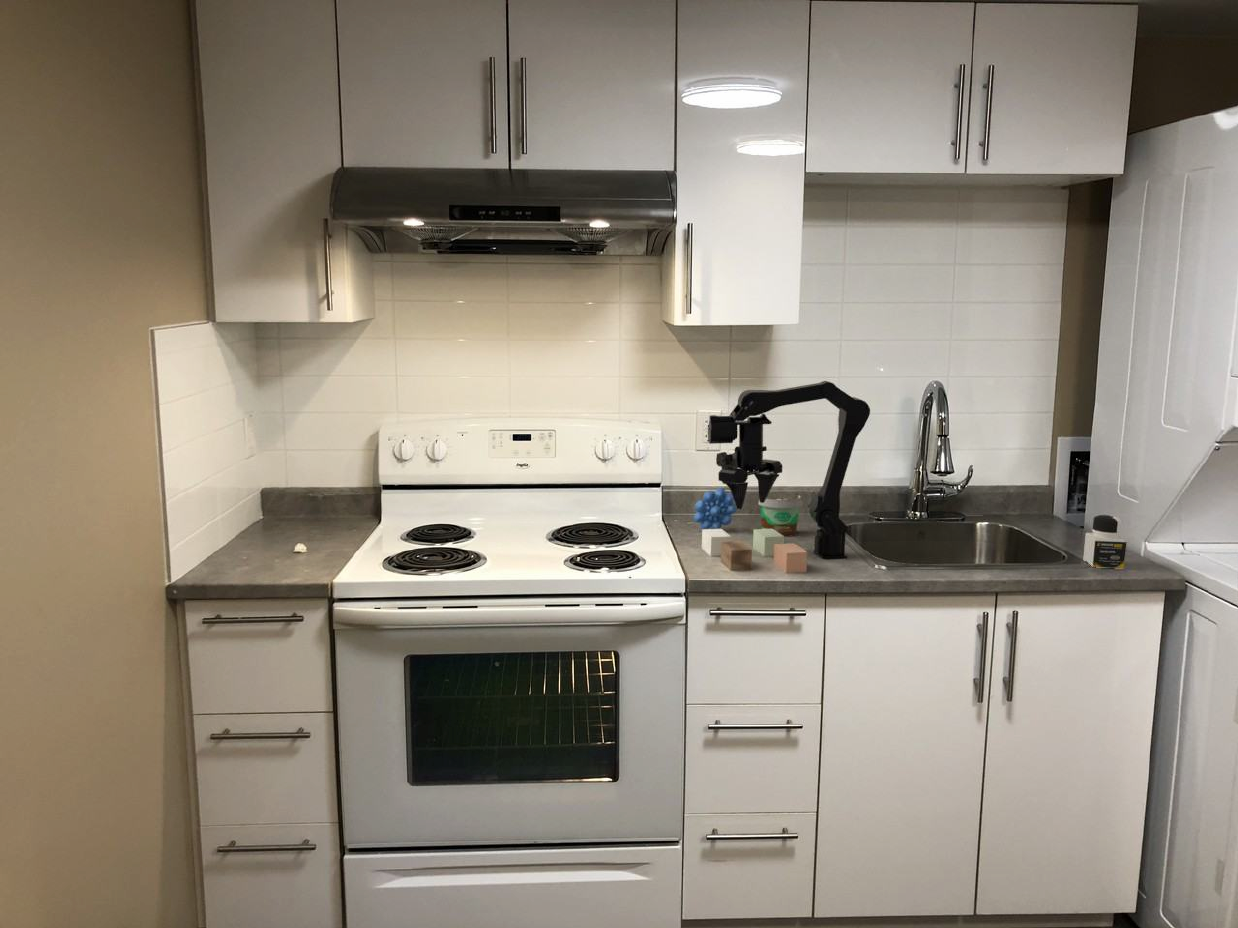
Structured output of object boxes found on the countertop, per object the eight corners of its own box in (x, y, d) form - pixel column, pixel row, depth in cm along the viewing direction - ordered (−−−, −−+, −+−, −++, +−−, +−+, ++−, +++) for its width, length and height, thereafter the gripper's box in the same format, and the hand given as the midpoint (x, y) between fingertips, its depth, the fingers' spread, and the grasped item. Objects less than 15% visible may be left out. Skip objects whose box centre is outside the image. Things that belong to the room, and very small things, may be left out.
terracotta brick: (793, 563, 236) (794, 543, 235) (806, 572, 228) (807, 551, 228) (773, 564, 235) (774, 544, 234) (786, 573, 227) (786, 552, 227)
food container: (766, 538, 259) (767, 501, 257) (757, 533, 265) (758, 496, 263) (809, 536, 262) (810, 499, 261) (798, 530, 268) (800, 494, 266)
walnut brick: (740, 561, 238) (741, 541, 237) (751, 570, 230) (752, 549, 229) (720, 562, 237) (721, 541, 236) (730, 571, 229) (731, 550, 228)
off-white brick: (720, 547, 250) (721, 528, 249) (730, 556, 242) (730, 536, 241) (701, 548, 249) (702, 529, 248) (710, 556, 241) (711, 537, 240)
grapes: (734, 528, 270) (735, 485, 268) (737, 534, 264) (738, 490, 262) (692, 527, 270) (693, 484, 268) (694, 533, 264) (695, 489, 262)
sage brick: (771, 547, 251) (772, 528, 250) (783, 555, 243) (784, 536, 242) (752, 548, 250) (753, 529, 249) (764, 556, 242) (765, 537, 241)
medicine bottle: (1092, 568, 234) (1097, 519, 232) (1082, 560, 241) (1087, 512, 239) (1124, 569, 233) (1129, 520, 231) (1113, 561, 240) (1118, 513, 238)
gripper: (747, 435, 250) (747, 495, 252) (700, 444, 236) (701, 507, 239) (783, 439, 242) (783, 501, 245) (737, 448, 229) (737, 514, 232)
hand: (750, 505), depth 240 cm, fingers open, 9 cm apart
